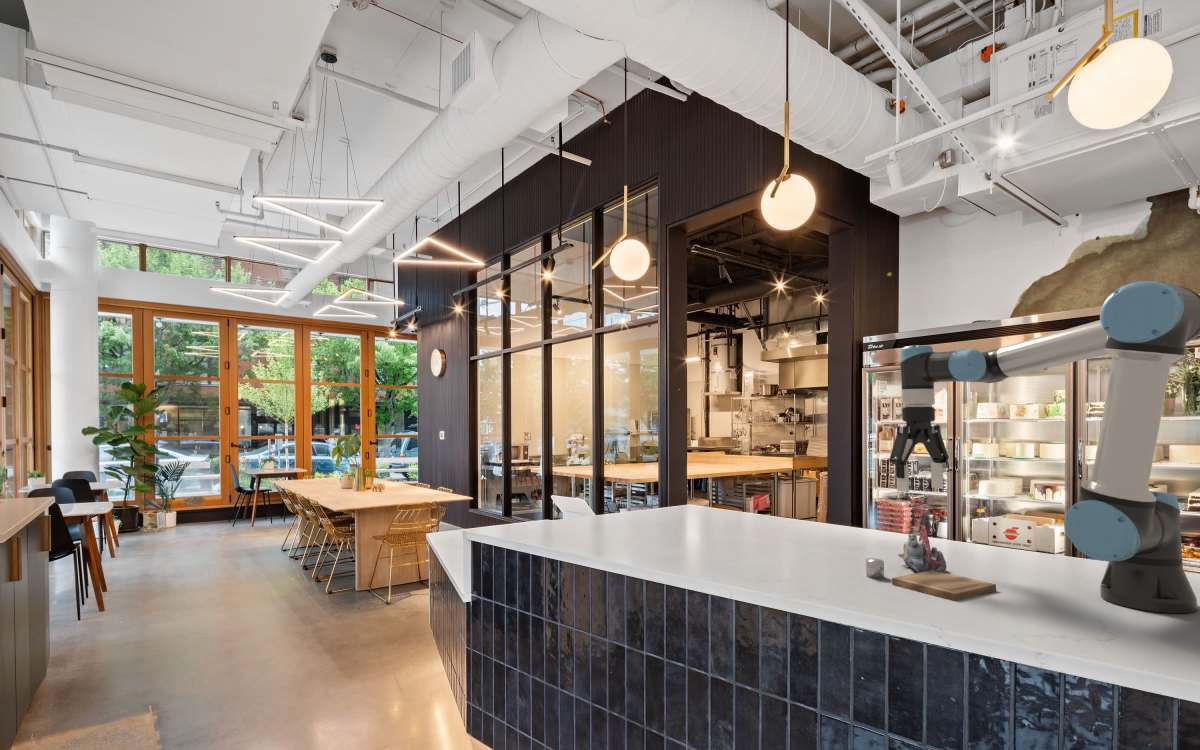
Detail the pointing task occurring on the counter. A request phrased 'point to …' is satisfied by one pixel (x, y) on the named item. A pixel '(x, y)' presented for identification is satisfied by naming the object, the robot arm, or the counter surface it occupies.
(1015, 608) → the counter surface
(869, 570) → the grey metallic cube
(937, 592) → the stand
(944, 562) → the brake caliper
